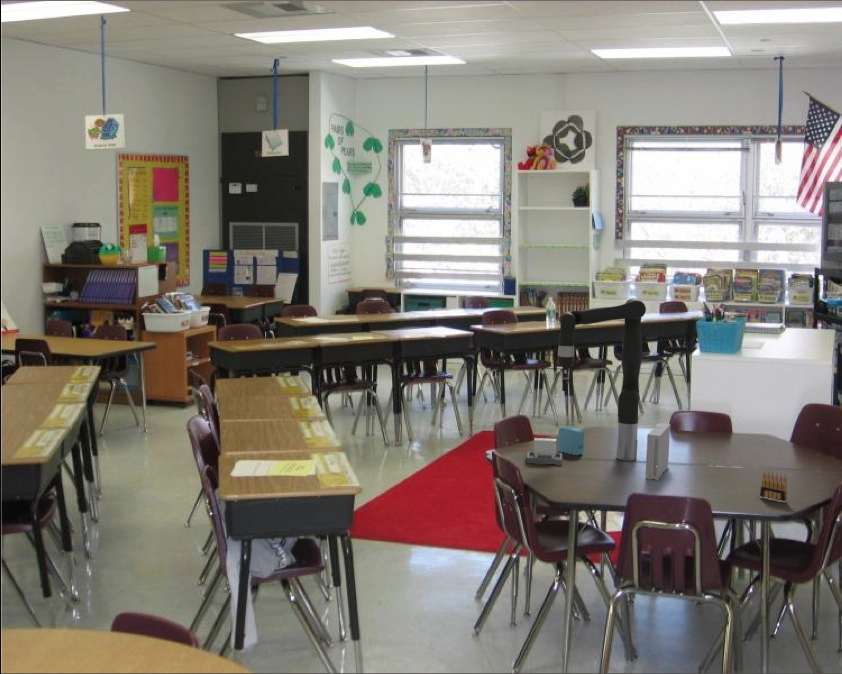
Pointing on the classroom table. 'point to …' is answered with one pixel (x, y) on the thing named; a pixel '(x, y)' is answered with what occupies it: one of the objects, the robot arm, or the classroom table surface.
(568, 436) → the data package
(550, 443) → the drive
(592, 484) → the classroom table surface
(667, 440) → the game console
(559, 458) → the tray
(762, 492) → the ammunition clip
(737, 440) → the classroom table surface
